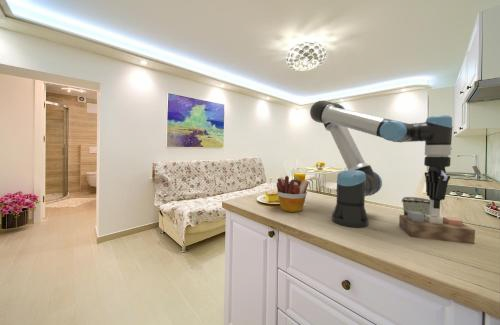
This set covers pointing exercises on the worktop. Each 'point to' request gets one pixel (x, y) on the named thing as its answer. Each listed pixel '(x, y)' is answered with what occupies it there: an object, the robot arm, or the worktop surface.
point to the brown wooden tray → (437, 230)
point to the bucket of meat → (291, 194)
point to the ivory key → (433, 219)
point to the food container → (416, 205)
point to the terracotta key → (452, 221)
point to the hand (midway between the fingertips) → (434, 215)
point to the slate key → (415, 216)
